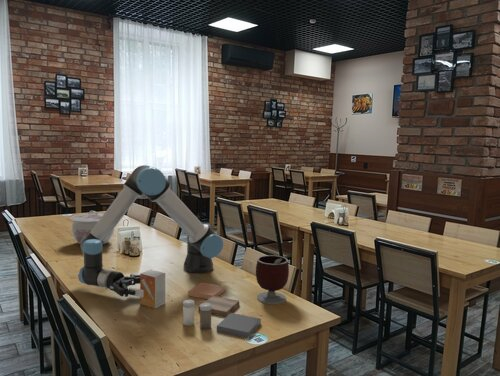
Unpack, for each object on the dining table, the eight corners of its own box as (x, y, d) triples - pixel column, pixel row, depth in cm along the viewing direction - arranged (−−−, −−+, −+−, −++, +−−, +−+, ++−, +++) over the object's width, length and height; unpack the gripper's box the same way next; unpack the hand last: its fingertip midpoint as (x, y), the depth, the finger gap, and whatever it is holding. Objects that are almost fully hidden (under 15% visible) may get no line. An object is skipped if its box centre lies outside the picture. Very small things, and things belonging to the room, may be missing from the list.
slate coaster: (231, 317, 159) (231, 312, 159) (260, 323, 154) (260, 318, 154) (216, 331, 148) (216, 325, 148) (248, 338, 143) (248, 332, 143)
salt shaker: (186, 319, 156) (186, 298, 155) (196, 322, 154) (196, 300, 153) (180, 324, 152) (180, 303, 151) (190, 326, 150) (190, 305, 149)
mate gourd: (250, 294, 183) (251, 249, 180) (279, 291, 187) (280, 247, 185) (264, 308, 168) (265, 260, 166) (295, 304, 173) (297, 257, 171)
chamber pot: (71, 239, 268) (70, 207, 265) (116, 237, 276) (116, 206, 273) (66, 251, 241) (65, 215, 239) (116, 248, 249) (116, 214, 247)
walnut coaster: (212, 300, 175) (212, 295, 175) (239, 305, 171) (239, 300, 170) (198, 311, 164) (198, 306, 164) (226, 316, 160) (226, 311, 159)
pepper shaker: (203, 323, 153) (203, 302, 152) (213, 325, 152) (213, 304, 151) (197, 328, 149) (197, 306, 148) (207, 330, 148) (208, 308, 147)
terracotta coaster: (201, 286, 191) (201, 282, 190) (225, 290, 186) (225, 286, 186) (187, 295, 180) (187, 291, 179) (212, 300, 175) (212, 295, 175)
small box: (139, 304, 169) (139, 273, 167) (150, 299, 174) (150, 269, 173) (155, 309, 165) (155, 277, 163) (165, 303, 171) (165, 272, 169)
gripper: (130, 279, 188) (171, 287, 180) (89, 298, 165) (133, 308, 157) (130, 263, 187) (171, 270, 179) (89, 280, 164) (133, 289, 156)
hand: (153, 288), depth 168 cm, fingers open, 13 cm apart
